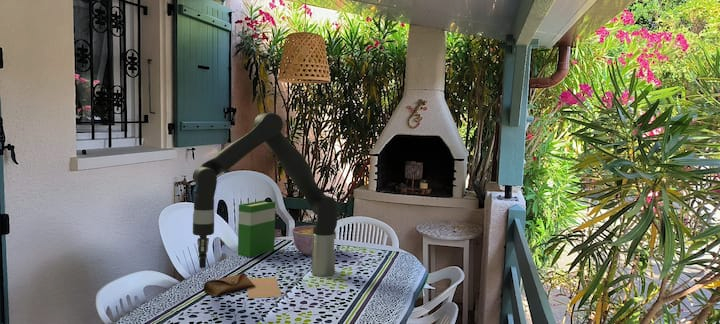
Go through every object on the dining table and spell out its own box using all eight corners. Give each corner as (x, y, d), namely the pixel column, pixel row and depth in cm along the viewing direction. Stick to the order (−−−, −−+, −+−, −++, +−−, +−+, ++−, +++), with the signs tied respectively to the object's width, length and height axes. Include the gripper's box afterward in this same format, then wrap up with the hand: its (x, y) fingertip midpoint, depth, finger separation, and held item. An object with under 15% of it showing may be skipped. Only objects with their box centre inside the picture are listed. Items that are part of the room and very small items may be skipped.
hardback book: (262, 247, 247) (263, 200, 245) (274, 249, 243) (275, 201, 241) (237, 254, 232) (238, 204, 230) (249, 257, 228) (250, 206, 226)
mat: (275, 278, 200) (275, 277, 200) (281, 297, 179) (281, 296, 179) (245, 279, 197) (245, 278, 197) (248, 299, 176) (248, 298, 176)
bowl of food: (330, 259, 230) (331, 235, 229) (288, 257, 230) (288, 233, 229) (333, 248, 249) (334, 226, 249) (294, 247, 250) (295, 224, 249)
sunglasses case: (215, 296, 175) (210, 278, 177) (206, 301, 180) (201, 283, 182) (257, 285, 189) (252, 268, 190) (248, 290, 193) (243, 274, 195)
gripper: (213, 224, 175) (212, 272, 176) (214, 217, 188) (213, 262, 189) (191, 225, 173) (190, 273, 174) (193, 217, 186) (193, 262, 187)
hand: (202, 267), depth 181 cm, fingers closed
